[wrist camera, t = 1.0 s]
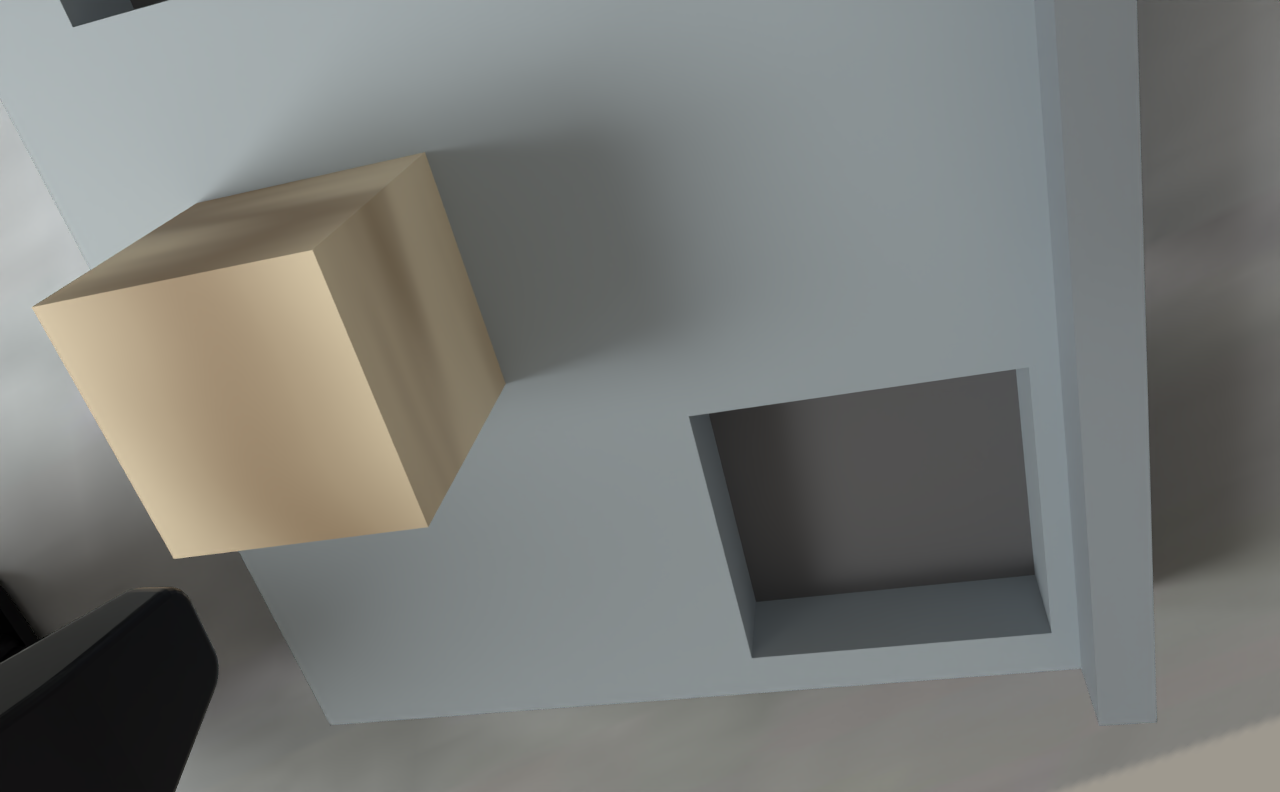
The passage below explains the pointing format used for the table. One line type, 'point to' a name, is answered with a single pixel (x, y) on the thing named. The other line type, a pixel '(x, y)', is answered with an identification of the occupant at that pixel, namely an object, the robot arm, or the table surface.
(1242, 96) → the table surface
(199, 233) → the block
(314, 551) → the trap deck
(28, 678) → the robot arm
